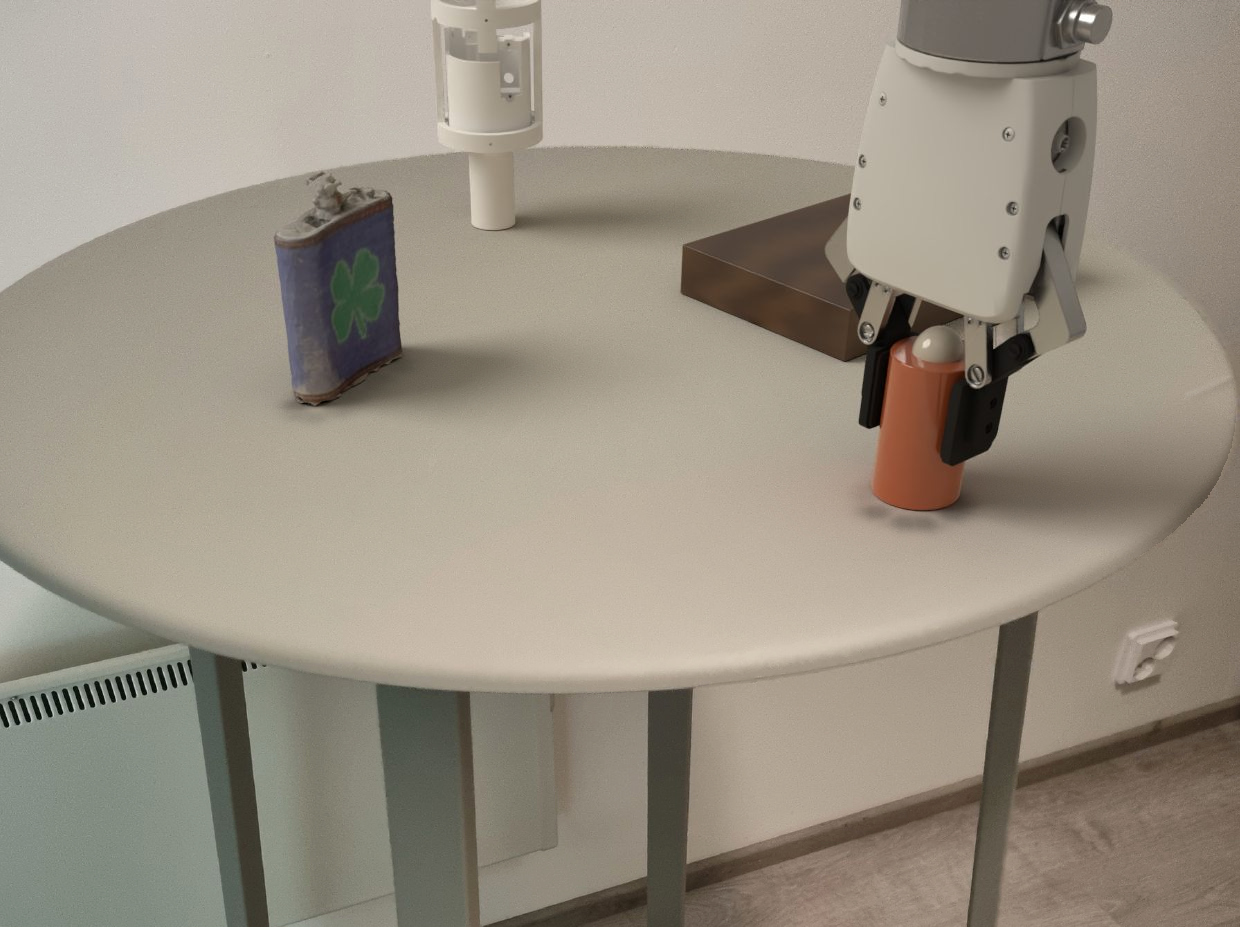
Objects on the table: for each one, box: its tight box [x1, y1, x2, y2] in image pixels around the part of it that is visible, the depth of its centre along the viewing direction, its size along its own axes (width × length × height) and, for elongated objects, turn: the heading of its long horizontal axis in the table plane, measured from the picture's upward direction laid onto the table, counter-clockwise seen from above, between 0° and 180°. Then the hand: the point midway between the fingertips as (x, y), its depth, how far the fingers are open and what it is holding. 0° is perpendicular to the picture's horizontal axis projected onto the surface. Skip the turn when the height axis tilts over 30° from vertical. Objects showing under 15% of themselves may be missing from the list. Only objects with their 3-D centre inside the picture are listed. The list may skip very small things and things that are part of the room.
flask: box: [273, 170, 403, 406], centre depth 82 cm, size 9×3×11 cm, turn 151°
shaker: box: [870, 325, 967, 511], centre depth 73 cm, size 4×4×8 cm
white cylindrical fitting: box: [429, 0, 544, 231], centre depth 100 cm, size 7×7×15 cm
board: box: [680, 192, 964, 362], centre depth 95 cm, size 14×20×3 cm
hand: (924, 434), depth 74 cm, fingers closed on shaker, 4 cm apart
